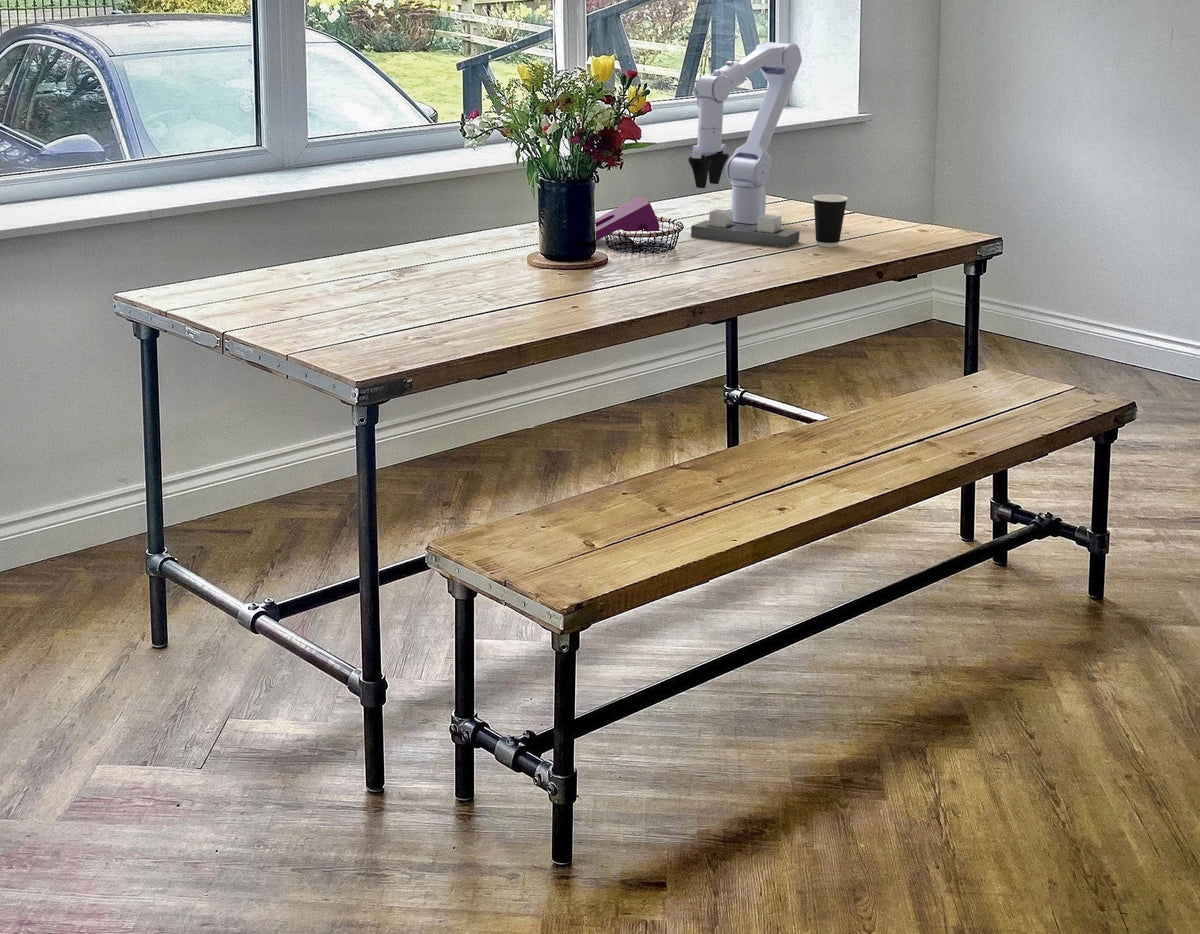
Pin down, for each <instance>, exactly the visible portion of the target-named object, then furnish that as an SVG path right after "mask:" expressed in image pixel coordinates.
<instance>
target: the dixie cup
mask: <svg viewBox="0 0 1200 934" xmlns="http://www.w3.org/2000/svg"><path fill="white" fill-rule="evenodd" d="M812 199H813V205H814V206H813V207H814V228H815V229H814V230H815V241H816V246H818V245H819V246H818V247H821V246H824V247H823V248H835V246H836V247H838V246H839V242H840V241H841V239H840V238H841V233H842V230H843V229H842V228H843V224H844V223H843V222H844V217H845V213H846V212H845V211H846V206H847V201H848V199H849V198H848V197H847V196H844V195H839V194H816V195H813V196H812Z"/></svg>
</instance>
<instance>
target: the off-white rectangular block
mask: <svg viewBox="0 0 1200 934" xmlns="http://www.w3.org/2000/svg"><path fill="white" fill-rule="evenodd" d="M756 226H757V232H760V233H769V234H777V233H779V232H781V229H782V215H776V214H775V215H774V214H766V213H765V214H764V215H762V216H759V217H758V220H757V223H756Z"/></svg>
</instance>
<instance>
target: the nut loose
mask: <svg viewBox="0 0 1200 934" xmlns="http://www.w3.org/2000/svg"><path fill="white" fill-rule="evenodd" d="M708 214H709V216H708V219H709V220H708V221H709V227H715V228H724V229H729V228H731V227H732V226H733V223H734V222H733V211H731V210H728V209H718V208H716V209H714V210H711V211H709V213H708Z"/></svg>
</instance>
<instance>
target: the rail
mask: <svg viewBox="0 0 1200 934" xmlns="http://www.w3.org/2000/svg"><path fill="white" fill-rule="evenodd" d="M690 236H691V237H690V238H697V239H707V240H716V241H723V242H731V243H733V242H734V243H741V244H748V243H750V244H749V245H756V244H758V245H759V246H765V245H768V246H767V247H774V246H779V247H778V248H782V247H787V248H788V246H789V245H791V246H793V245H795V244H797V243H799V242H800V230H798V229H797V230H796V229H785V228H781V232H779V233H777V234H769V233H760V232H757V225H753V224H744V223H735V222H733V226H732V227H731V228H729V229H724V228H715V227H709V220H708V219H707V220H703V221H701V222H699V223H696V224H693V225H691V228H690ZM798 241H799V242H798ZM796 242H797V243H796ZM794 243H795V244H794ZM792 244H793V245H792ZM789 247H790V246H789Z"/></svg>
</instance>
